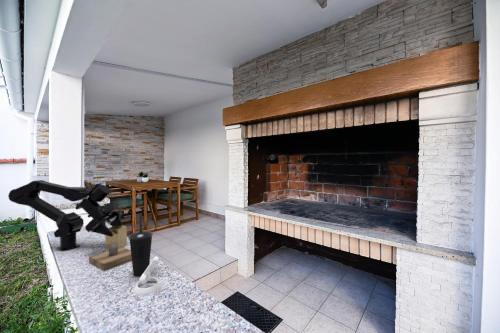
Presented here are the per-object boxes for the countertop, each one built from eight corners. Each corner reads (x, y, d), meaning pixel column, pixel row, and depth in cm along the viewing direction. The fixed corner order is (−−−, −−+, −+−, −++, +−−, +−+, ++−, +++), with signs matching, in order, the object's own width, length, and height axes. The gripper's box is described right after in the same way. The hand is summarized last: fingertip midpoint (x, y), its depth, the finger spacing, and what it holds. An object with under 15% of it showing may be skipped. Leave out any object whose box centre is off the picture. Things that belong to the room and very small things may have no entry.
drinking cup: (158, 270, 78) (157, 214, 78) (141, 280, 71) (140, 219, 70) (141, 266, 80) (140, 213, 80) (123, 277, 73) (122, 218, 73)
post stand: (89, 262, 84) (88, 246, 84) (121, 252, 94) (120, 237, 94) (104, 270, 77) (103, 252, 77) (136, 258, 88) (136, 242, 87)
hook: (170, 278, 63) (148, 267, 61) (148, 307, 64) (126, 297, 63) (176, 261, 70) (156, 251, 68) (156, 288, 71) (137, 278, 70)
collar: (105, 249, 97) (105, 229, 97) (114, 244, 103) (114, 225, 103) (118, 249, 97) (118, 229, 97) (126, 244, 103) (126, 225, 103)
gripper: (92, 199, 90) (119, 226, 91) (118, 193, 109) (140, 215, 109) (73, 218, 90) (100, 244, 90) (102, 209, 109) (124, 231, 109)
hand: (118, 232), depth 100 cm, fingers open, 9 cm apart
